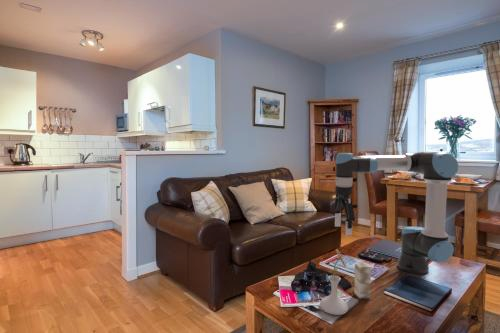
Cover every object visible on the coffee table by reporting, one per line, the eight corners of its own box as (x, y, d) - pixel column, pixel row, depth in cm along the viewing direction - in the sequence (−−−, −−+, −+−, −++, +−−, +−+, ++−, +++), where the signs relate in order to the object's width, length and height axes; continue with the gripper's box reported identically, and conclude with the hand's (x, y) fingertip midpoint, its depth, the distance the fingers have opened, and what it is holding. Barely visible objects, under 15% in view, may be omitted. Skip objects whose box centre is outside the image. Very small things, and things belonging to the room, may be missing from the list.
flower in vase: (344, 321, 112) (345, 259, 110) (316, 312, 118) (316, 253, 116) (352, 305, 123) (353, 248, 121) (325, 297, 129) (326, 243, 127)
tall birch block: (364, 293, 133) (365, 262, 132) (370, 299, 128) (371, 266, 127) (354, 294, 132) (355, 262, 131) (359, 300, 127) (360, 267, 126)
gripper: (327, 182, 146) (326, 223, 148) (346, 190, 122) (345, 239, 123) (341, 182, 147) (340, 223, 149) (363, 190, 122) (362, 238, 124)
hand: (342, 230), depth 136 cm, fingers open, 13 cm apart
